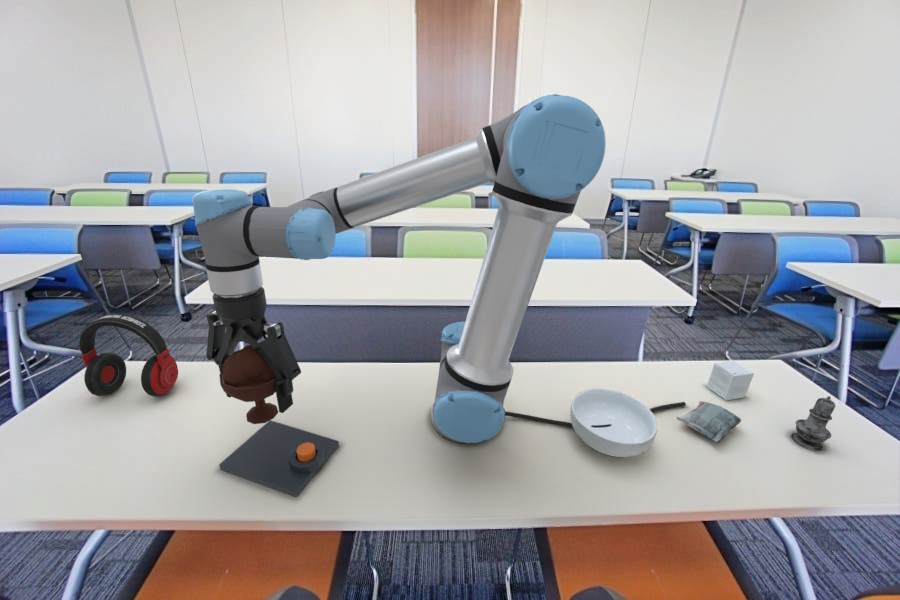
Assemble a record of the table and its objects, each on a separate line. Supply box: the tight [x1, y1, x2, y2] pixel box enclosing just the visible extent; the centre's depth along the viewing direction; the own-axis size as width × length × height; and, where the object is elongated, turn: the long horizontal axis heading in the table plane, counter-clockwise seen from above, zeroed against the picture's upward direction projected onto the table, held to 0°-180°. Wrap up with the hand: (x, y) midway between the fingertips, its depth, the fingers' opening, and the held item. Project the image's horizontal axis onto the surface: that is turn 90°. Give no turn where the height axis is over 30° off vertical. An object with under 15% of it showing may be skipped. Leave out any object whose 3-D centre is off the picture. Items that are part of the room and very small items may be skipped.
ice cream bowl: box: [219, 344, 283, 425], centre depth 71 cm, size 11×11×15 cm
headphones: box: [78, 313, 179, 397], centre depth 90 cm, size 18×10×20 cm, turn 92°
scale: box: [218, 420, 340, 498], centre depth 76 cm, size 18×13×3 cm
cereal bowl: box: [569, 388, 659, 458], centre depth 83 cm, size 17×17×7 cm
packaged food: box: [676, 400, 742, 443], centre depth 88 cm, size 9×12×5 cm
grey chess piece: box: [790, 395, 836, 452], centre depth 83 cm, size 6×6×12 cm
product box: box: [706, 360, 755, 401], centre depth 100 cm, size 6×6×7 cm
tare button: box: [297, 443, 316, 462], centre depth 74 cm, size 3×3×2 cm
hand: (259, 400), depth 73 cm, fingers closed on ice cream bowl, 11 cm apart
